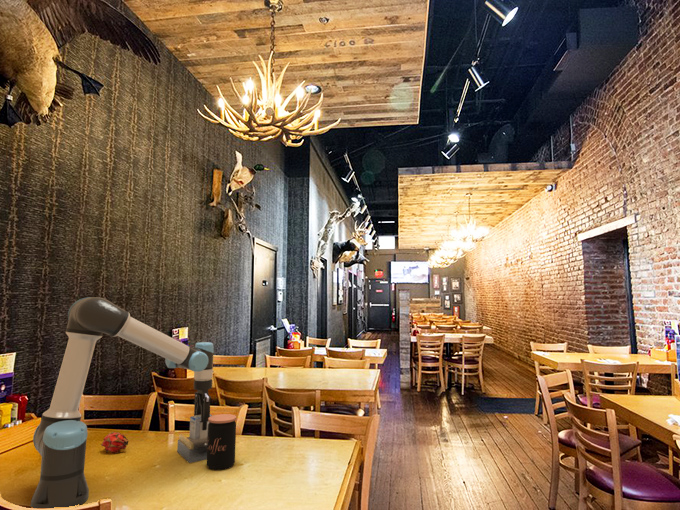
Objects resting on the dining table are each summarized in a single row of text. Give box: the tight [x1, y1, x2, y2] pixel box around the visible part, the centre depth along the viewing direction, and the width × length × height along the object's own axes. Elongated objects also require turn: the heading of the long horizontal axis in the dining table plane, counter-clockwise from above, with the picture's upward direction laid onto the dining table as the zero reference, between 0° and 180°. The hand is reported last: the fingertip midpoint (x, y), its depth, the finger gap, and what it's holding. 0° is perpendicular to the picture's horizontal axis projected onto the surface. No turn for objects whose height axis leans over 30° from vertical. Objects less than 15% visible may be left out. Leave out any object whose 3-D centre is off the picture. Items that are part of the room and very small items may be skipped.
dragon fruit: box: [101, 431, 130, 454], centre depth 179 cm, size 8×8×12 cm
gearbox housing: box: [176, 433, 208, 464], centre depth 177 cm, size 16×17×7 cm
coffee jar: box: [206, 413, 237, 471], centre depth 164 cm, size 11×11×18 cm
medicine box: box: [189, 413, 213, 440], centre depth 177 cm, size 8×4×9 cm, turn 139°
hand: (200, 436), depth 177 cm, fingers closed on medicine box, 5 cm apart
